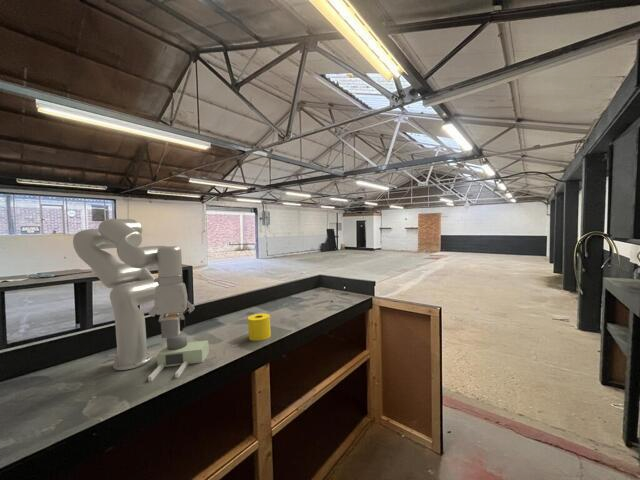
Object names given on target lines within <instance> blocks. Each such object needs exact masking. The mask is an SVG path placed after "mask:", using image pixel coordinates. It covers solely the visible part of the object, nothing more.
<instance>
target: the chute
mask: <svg viewBox="0 0 640 480" xmlns="http://www.w3.org/2000/svg"><path fill="white" fill-rule="evenodd" d="M160 331H161V339H167V338H169V337H176V336H179V334H180V333H181V332H182V331H180V315H179V313H173V314H166V315H165V317H164V318H163V319H162V320H161V329H160Z"/></svg>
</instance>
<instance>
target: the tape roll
mask: <svg viewBox="0 0 640 480" xmlns="http://www.w3.org/2000/svg"><path fill="white" fill-rule="evenodd" d="M247 324H248V325H247V327H248V339H249V340H250V341H255V342H256V341H257V342H258V341H264V340H267V339H270V337H271V336H272V332H271V315H270V314H268V313H265V312H264V313H254V314H252V315H249V316H248V317H247Z"/></svg>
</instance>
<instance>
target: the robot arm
mask: <svg viewBox="0 0 640 480" xmlns="http://www.w3.org/2000/svg"><path fill="white" fill-rule="evenodd" d="M142 233H143V227H142V225H141V223H140V222H139V221H137V220H135V219H131V218H129V219H127V218H108V219H104V220H103V221H102V222H100V223H99V224H98V227H97V228H90V229H83V230H80V231H77V232H76V233H75V234H74V235H73V238H72V245H73V249H74V251H75V253H76V254H77V256H78V257H79V258H80V259H81V260H82V261H83V262H84V263H85V264H86V265H87V266H88V267H90V268H91V270H92V271H93V273H94V274H95V275H96V276H97V278H98V279H99V281H100V282H101V283H102V284H103V285H104V286H105V287H106V288H108V289H111V291H110V293H109V300H110V304H111V307H112V310H113V314H114V325H115V339H116V349H117V350H116V352H117V353H110V354H108V355H107V362H114V363H113V366H112V367H113V368H112V369H113V370H115V371H127V370H131V369H136V368H139V367H141V366H143V365H146V364H147V363H149V362H150V361H151V360H152V359H153V354H152V353H151V352H148V344H147V331H146V330H147V329H146V319H145V318H146V317H145V314H144V312H143V311H142V310H141V309H140V308H139V306H141V305H143V304H147V303H154V304H153V306H152V308H151V309H150V310H149V312H148V315H149V316H151V317H154V319H156V320H157V321H158V323H160V330H161V320H162V319H163V318H164V317H165V316H166V315H167V314H173V313H179V315H180V331H181V332H183V330H184V329H185V328H186V318H187V317H188V316H189V314H191V313H192V312H193V311H194V310H195V306H194V305H193V304H192V303H191V302H190V301H189V298H188V293H187V292H188V291H187V287H186V286H187V285H186V284H185V282H184V279H183V262H182V260H183V259H182V249H181V247H180V246H178V245H175V246H173V245H172V246H171V245H169V246H167V245H152V246H151V245H149V246H140V245H141V243H142V241H143V236H142ZM107 249H116V253H117V256H118V258H119V260H120V261H121V262H123V263H121V262H119V261H118V260H117V258H116V257H115V256H114V255H113V254H111V253H109V252H108V251H105V250H107ZM153 267H155V268H156V267H157V273H158V277H157V278H155V276H154V275H153V274H152V273H151V271H150V270H149V269H148V268H153ZM187 309H188V310H187Z"/></svg>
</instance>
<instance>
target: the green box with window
mask: <svg viewBox="0 0 640 480" xmlns="http://www.w3.org/2000/svg"><path fill="white" fill-rule="evenodd" d="M187 337H188V336H187V334H186V333H185V332H184V333H183V332H182V333H181V332H180V334H179V336H176V337H169V338H166V345H165V346H164V347H163V348H162V349H161V350H160V351H159V352H158V353H157V354H156V359H157V367H156V368H155V369H154V370H153V371H152V373H150V374H149V375H148V378H147V380H148V382H152V381H153V380H154V379H155V378H156V377H157V376H158V375H159V374H160V373H161V371H162V370H163V369H164V368H165V367H166V368H167V367H174V366H179V368H178V369H177V370H176V371H175V373H174V378H175V379H179V377H180V376H181V374H182V373H183V372H184V371H185V369H186V368H187V366H188V365H192V364H193V365H194V364H199V363H204V361H205V359H206V358H207V356H208V355H209V353H210V348H209V346H210V345H209V340H208V339H207V340H200V341H199V340H198V341H189V342H188V339H187Z"/></svg>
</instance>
